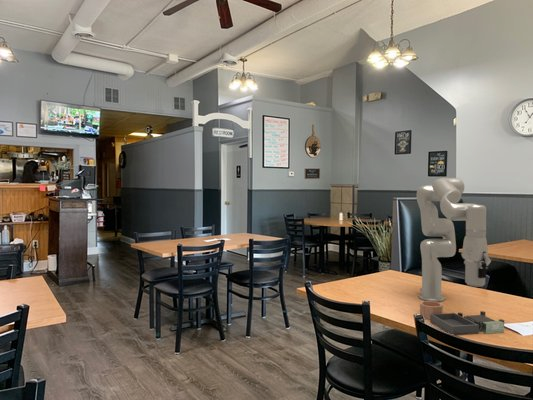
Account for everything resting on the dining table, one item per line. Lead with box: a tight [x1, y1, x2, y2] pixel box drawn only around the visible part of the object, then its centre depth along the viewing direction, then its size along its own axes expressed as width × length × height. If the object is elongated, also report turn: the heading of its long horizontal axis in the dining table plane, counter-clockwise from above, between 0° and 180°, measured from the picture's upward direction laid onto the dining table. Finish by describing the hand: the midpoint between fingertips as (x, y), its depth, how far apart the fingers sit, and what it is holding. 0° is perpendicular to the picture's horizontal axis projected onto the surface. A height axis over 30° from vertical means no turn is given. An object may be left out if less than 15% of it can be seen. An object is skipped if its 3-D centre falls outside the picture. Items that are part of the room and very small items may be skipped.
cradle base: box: [457, 310, 505, 335], centre depth 166 cm, size 15×12×4 cm
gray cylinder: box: [464, 257, 486, 288], centre depth 167 cm, size 8×8×12 cm
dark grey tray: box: [429, 312, 480, 336], centre depth 166 cm, size 16×12×4 cm
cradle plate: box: [463, 314, 496, 328], centre depth 168 cm, size 9×9×2 cm
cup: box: [419, 300, 444, 321], centre depth 179 cm, size 9×9×6 cm
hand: (475, 275), depth 167 cm, fingers closed on gray cylinder, 7 cm apart
